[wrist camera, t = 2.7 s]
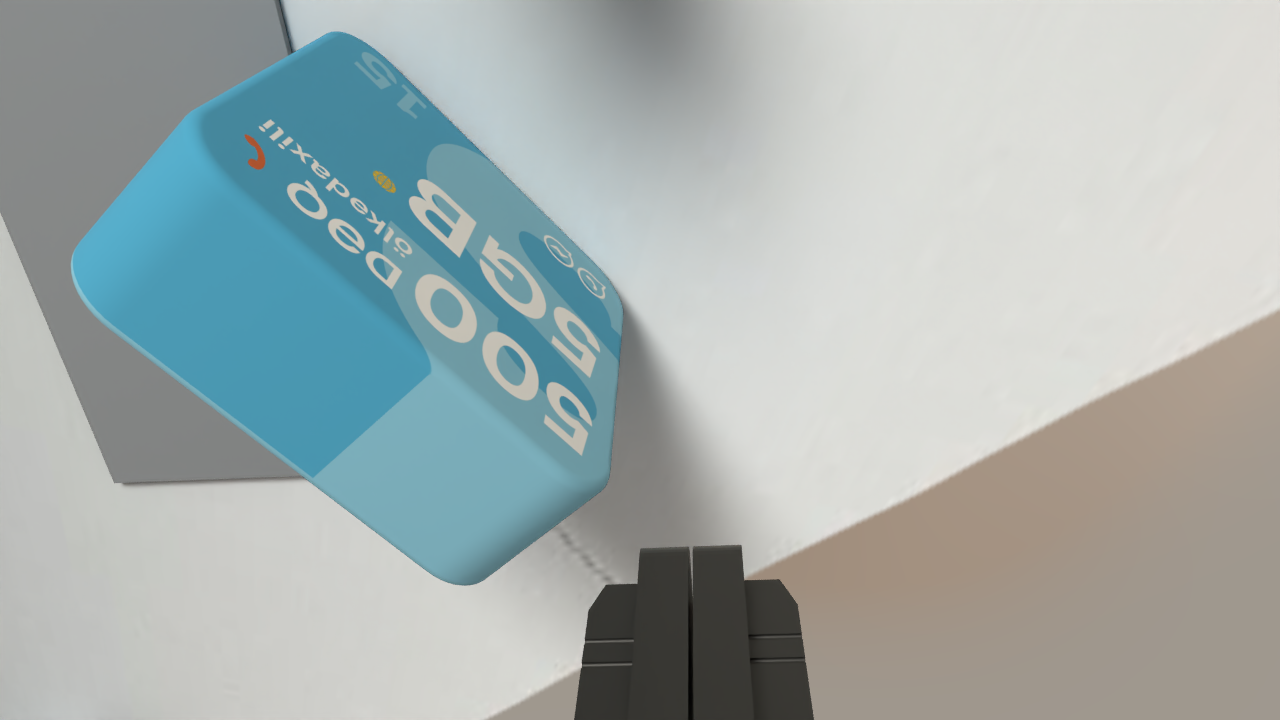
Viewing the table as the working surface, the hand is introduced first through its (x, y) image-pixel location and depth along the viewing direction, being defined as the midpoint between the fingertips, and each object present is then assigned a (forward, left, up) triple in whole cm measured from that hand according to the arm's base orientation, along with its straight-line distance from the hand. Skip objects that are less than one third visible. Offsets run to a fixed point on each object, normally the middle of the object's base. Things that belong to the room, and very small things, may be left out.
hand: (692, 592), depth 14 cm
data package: (+8, 0, -18) cm, 20 cm away
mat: (+17, 0, -18) cm, 25 cm away
